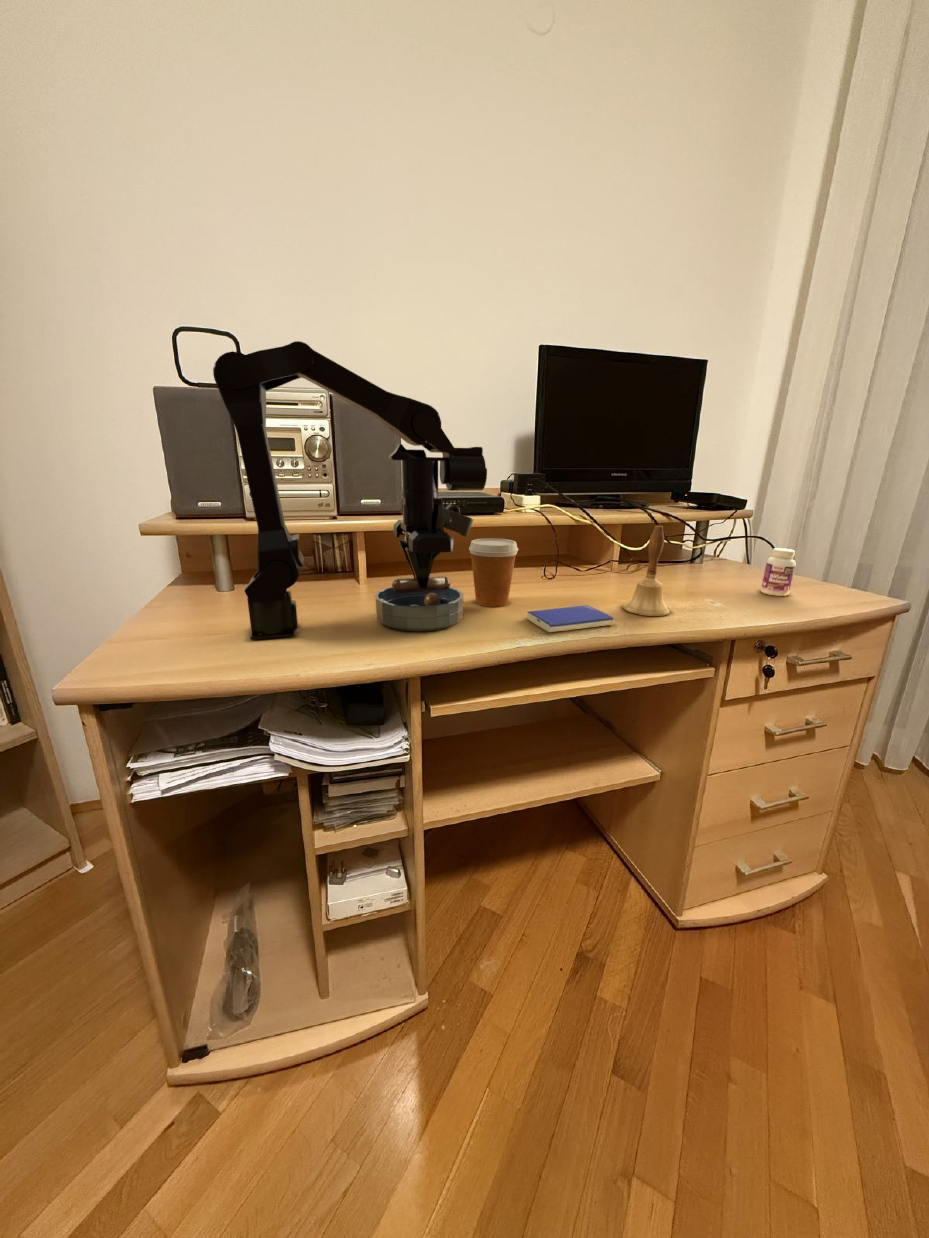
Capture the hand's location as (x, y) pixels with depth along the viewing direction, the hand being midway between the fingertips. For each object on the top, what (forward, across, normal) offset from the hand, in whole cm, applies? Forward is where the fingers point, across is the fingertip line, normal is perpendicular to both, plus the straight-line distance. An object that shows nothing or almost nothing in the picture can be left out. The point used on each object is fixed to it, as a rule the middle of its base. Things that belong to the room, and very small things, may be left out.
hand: (421, 585), depth 83 cm
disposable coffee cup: (+7, +8, -16) cm, 19 cm away
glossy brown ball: (+6, +4, -3) cm, 8 cm away
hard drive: (+7, -6, -25) cm, 27 cm away
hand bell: (+7, -4, -43) cm, 44 cm away
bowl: (+6, +2, 0) cm, 7 cm away
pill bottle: (+7, 0, -79) cm, 79 cm away
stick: (+1, 0, 0) cm, 1 cm away
